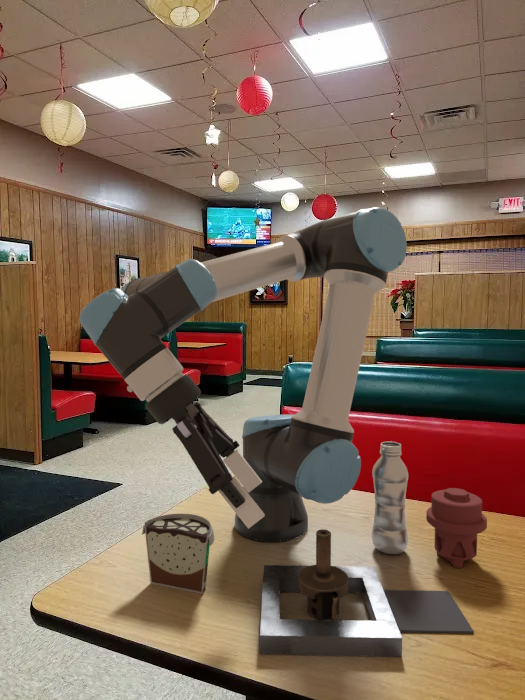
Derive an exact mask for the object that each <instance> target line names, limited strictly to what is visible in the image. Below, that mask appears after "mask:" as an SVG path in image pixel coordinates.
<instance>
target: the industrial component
mask: <svg viewBox="0 0 525 700" xmlns="http://www.w3.org/2000/svg"><path fill="white" fill-rule="evenodd" d="M315 536H316V537H315V564H311V565H307V566H308V567H306V568H304V569H302V570H301V571H300V573H299V589H300V591H301V592H300V593H301V594H303V595H304V596H306V603H307V604H306V611H307V614H308V615H310V617H312V618H314V619H317V620H325V619H330V620H337V617H338V616H339V614H340V599H341V598H343V597H345V595H347V594H348V593H347V592H348V576H347V574H346V573H345V572H344V571H343V570H341V569H339V568H337V567H334V566H335V565H332V556H331V555H332V532H331V531H330V530H328V529H323V528H321V529H318V530H317V531H316V533H315Z"/></svg>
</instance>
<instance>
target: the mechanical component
mask: <svg viewBox="0 0 525 700" xmlns="http://www.w3.org/2000/svg"><path fill="white" fill-rule="evenodd" d="M426 522H427V523H428V524H429V525H430V526H431V527H433V528H434V549H435V551H436V554H437V556H439V557H442V558H444V559H445V560H446V561H448V562H450V564H452V566H453V567H454V568H458V569H461V568H463V567H464V562H465V561H468V560H471V559H474V558H476V556H477V553H478V552H477V551H478V534H480V533H481V534H482V533H483V532H484V531H486V530H487V526H488V519H487V517H486V516H485V515H484V513H483V499H482V498H480V497H479V496H478V495H476V494H473V493H471V492H468V491H467V490H465V489H462V488H457V487H449V488H446V489H440V490H436V491H434V492H432V493H431V506H430V507H429V508H427V509H426Z"/></svg>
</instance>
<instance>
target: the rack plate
mask: <svg viewBox="0 0 525 700" xmlns="http://www.w3.org/2000/svg"><path fill="white" fill-rule="evenodd" d="M308 566H309V565H290V564H289V565H287V564H286V565H282V564H281V565H280V564H278V565H277V564H273V565H272V564H268V565H267V564H264V565H263V573H262V574H263V577H262V593H261V610H260V611H261V612H260V613H261V614H260V631H259V632H260V633H259V652H260V653H259V654H260V655H280V656H281V655H282V656H283V655H287V656H328V657H329V656H330V657H331V656H333V657H334V656H336V657H337V656H339V657H383V658H386V657H387V658H389V657H390V658H391V657H392V658H402V657H403V637H402V634H401V632H400V631H399V628H398V626H397V623H396V621H395V618H394V616H393V613H392V611H391V608H390V606H389V603H388V600H387V598H386V595H385V593H384V590H385V589H384V588H383V585H382V583H381V581H380V578H379V576H378V573H377V570H376V568H375V566H357V565H355V566H354V565H353V566H351V565H350V566H349V565H348V566H347V565H345V566H343V565H341V566H340V565H333V566H334V567H337V568H339V569H341V570H343V571H344V572H345V573H346V574H347V576H348V592H347V594H362V596H363V600H364V603H365V606H366V609H367V610H366V611H367V612H368V616H369V620H363V619H362V620H361V619H359V620H352V619H351V620H349V619H347V620H345V619H336V620H331V619H322V620H320V619H302V618H301V619H295V618H294V619H292V618H291V619H290V618H289V619H288V618H284V619H283V618H282V619H281V618H280V617H281V616H280V615H281V614H280V593H302V592H301V591H300V589H299V573H300V571H301V570H302V569H304V568H306V567H308Z"/></svg>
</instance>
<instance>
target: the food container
mask: <svg viewBox="0 0 525 700" xmlns="http://www.w3.org/2000/svg"><path fill="white" fill-rule="evenodd" d="M211 524H212V523H211V522H210V521H209V520H208V519H207V518H205V517H203V516H200V515H199V514H198V515H197V514H192V513H170V514H169V513H167V514H162V515H160V516H155V517H153V518H150V519H149V520H147V521H145V522H144V525H143V527H142V530H141V531H142V532H141V535H145V543H146V554H147V562H148V564H147V565H148V570H149V571H148V573H149V581H150V584H152V585H157V586H161V587H166V588H171V589H172V588H173V589H177V590H181V591H185V592H192V593H197V594H202V595H203V594H204V593H205V591H206V587H207V581H208V580H207V579H208V568H209V557H210V546H212V545H213V544H214V542H215V534H214V529H213V526H212V525H211Z"/></svg>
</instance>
